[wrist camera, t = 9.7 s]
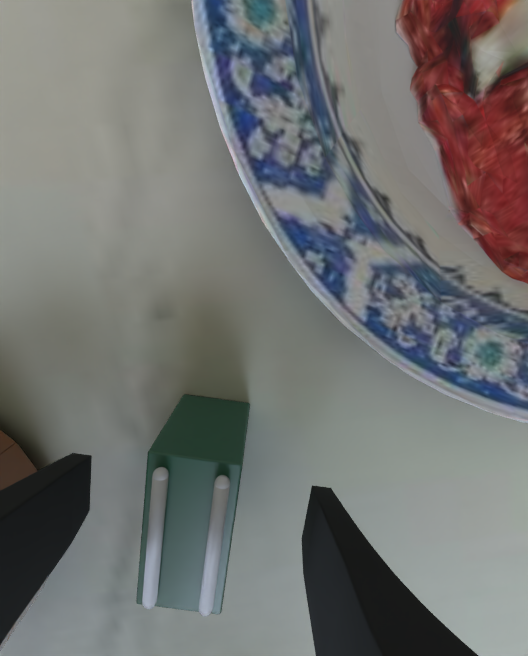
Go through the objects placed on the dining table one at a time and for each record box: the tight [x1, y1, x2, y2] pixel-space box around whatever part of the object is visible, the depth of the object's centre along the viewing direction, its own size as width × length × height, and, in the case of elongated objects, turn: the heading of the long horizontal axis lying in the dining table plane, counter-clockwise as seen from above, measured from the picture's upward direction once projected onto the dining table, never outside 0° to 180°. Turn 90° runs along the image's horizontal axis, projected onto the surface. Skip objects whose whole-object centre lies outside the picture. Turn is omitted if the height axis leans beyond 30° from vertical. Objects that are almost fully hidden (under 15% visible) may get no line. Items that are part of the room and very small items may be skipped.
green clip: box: [137, 394, 250, 616], centre depth 11 cm, size 5×2×4 cm, turn 172°
